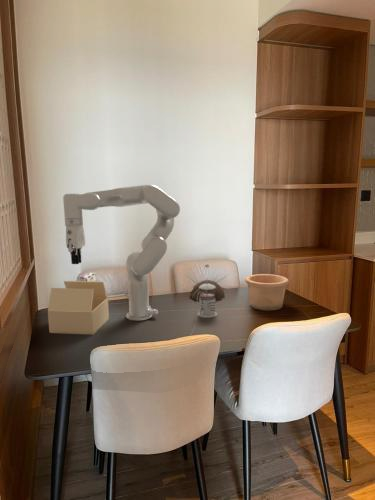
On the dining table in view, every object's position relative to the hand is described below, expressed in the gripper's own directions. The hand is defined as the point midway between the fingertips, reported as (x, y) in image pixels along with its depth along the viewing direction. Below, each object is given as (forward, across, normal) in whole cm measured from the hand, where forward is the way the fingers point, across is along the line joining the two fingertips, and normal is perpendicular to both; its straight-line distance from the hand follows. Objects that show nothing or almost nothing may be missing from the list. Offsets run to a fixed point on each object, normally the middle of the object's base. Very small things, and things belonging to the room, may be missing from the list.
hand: (76, 263), depth 169 cm
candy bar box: (+29, +30, +8) cm, 43 cm away
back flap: (+15, +8, 0) cm, 17 cm away
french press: (+29, +20, -56) cm, 66 cm away
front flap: (+15, -8, 0) cm, 17 cm away
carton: (+29, 0, 0) cm, 29 cm away
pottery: (+29, +37, -86) cm, 98 cm away
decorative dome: (+30, +50, -54) cm, 79 cm away
